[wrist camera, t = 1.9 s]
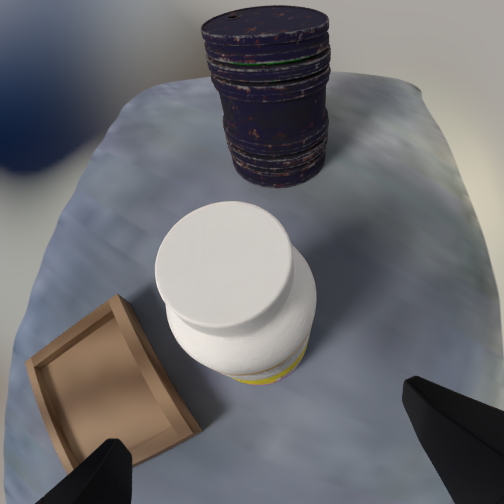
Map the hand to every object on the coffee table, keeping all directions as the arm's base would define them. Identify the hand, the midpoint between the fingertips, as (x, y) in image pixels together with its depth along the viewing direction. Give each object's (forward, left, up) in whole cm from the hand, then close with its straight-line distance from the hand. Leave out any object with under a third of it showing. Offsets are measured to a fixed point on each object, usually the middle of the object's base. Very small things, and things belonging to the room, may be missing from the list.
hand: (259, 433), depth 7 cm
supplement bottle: (+3, -5, -12) cm, 14 cm away
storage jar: (+9, -23, -12) cm, 27 cm away
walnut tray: (+12, +5, -12) cm, 18 cm away
